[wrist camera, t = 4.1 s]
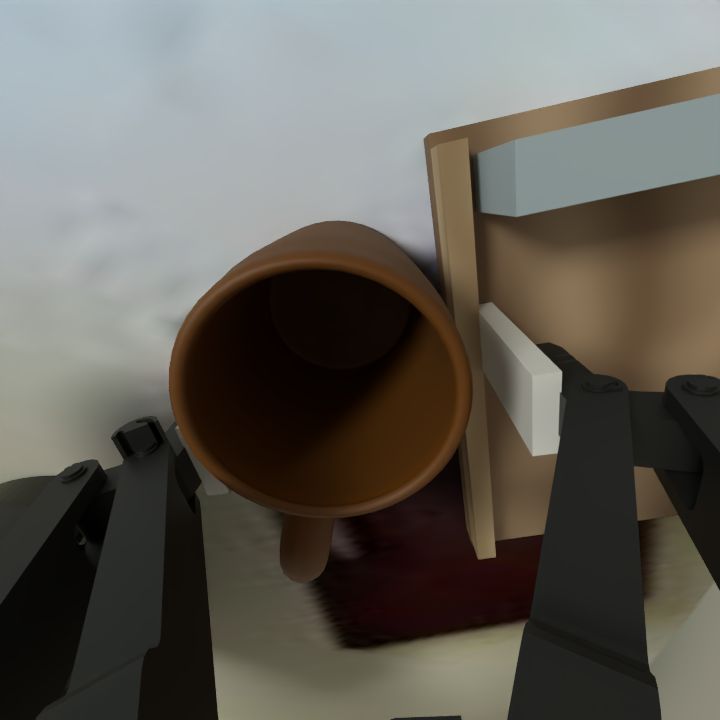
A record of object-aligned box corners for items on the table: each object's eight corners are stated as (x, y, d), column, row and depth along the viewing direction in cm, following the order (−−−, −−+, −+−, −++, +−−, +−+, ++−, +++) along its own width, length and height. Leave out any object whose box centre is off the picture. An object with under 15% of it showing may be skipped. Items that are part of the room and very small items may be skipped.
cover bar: (476, 211, 14) (516, 217, 11) (472, 154, 14) (514, 139, 10) (802, 142, 13) (968, 122, 10) (820, 76, 13) (1008, 28, 9)
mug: (387, 450, 21) (407, 629, 12) (254, 434, 20) (177, 608, 12) (437, 232, 16) (528, 276, 7) (263, 204, 15) (143, 215, 7)
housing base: (466, 527, 23) (478, 565, 21) (423, 138, 14) (436, 127, 12) (712, 492, 22) (754, 527, 20) (831, 44, 13) (934, 11, 11)
